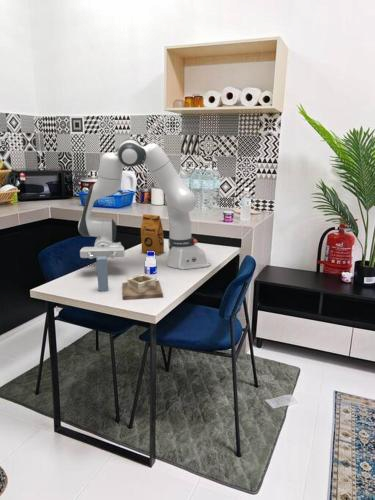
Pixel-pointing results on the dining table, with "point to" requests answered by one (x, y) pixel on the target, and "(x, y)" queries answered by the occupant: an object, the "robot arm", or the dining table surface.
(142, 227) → the coffee package
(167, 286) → the dining table surface
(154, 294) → the socket board
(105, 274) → the slate peg
